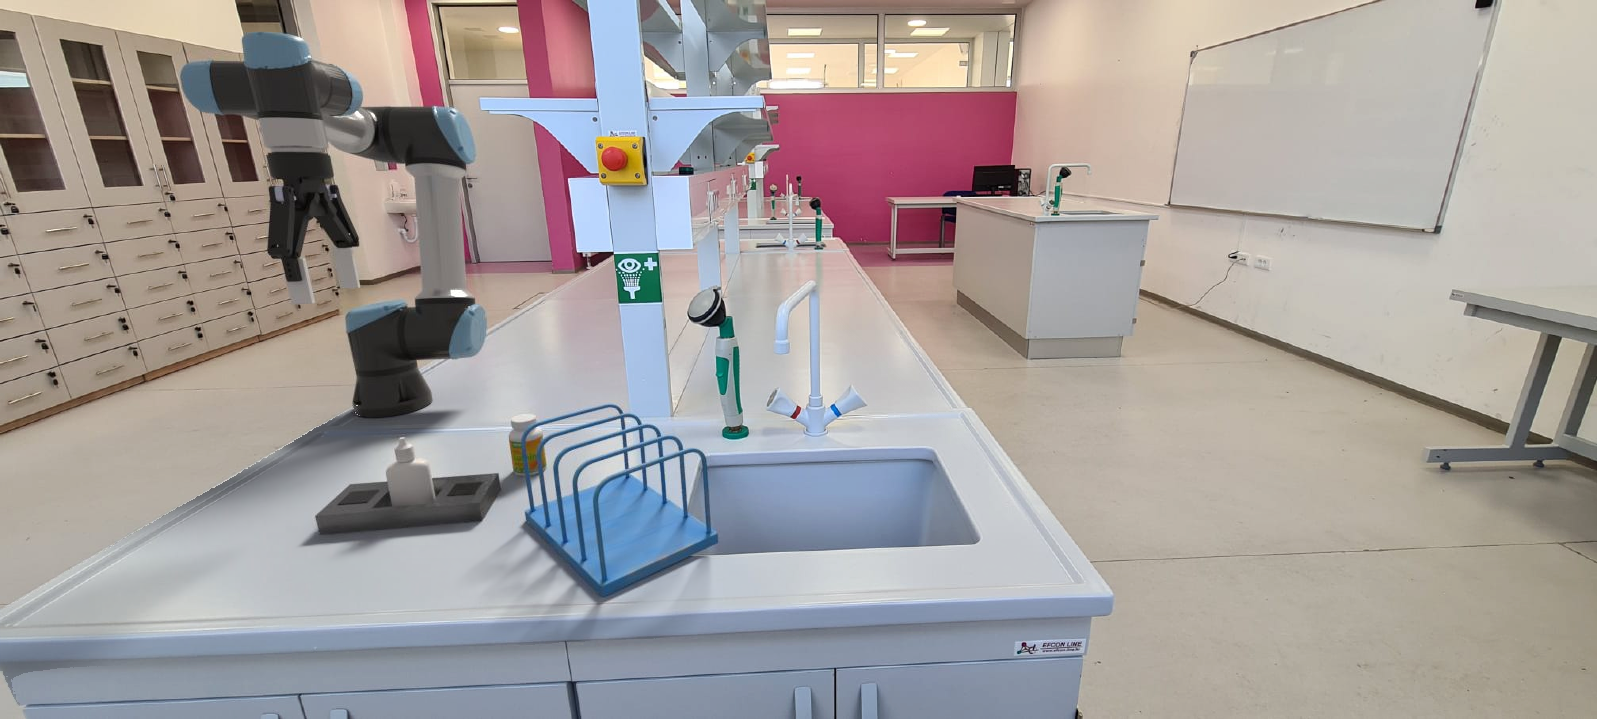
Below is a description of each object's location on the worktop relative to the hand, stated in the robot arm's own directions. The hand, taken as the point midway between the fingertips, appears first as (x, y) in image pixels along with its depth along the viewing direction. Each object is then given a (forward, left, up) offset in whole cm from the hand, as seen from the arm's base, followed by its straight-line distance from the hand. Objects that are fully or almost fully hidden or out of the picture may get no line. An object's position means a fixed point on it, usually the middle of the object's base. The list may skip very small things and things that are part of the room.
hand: (328, 295), depth 100 cm
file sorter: (+24, +43, -32) cm, 59 cm away
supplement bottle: (0, +26, -32) cm, 41 cm away
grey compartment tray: (+12, +12, -32) cm, 36 cm away
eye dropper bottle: (+12, +12, -32) cm, 36 cm away
